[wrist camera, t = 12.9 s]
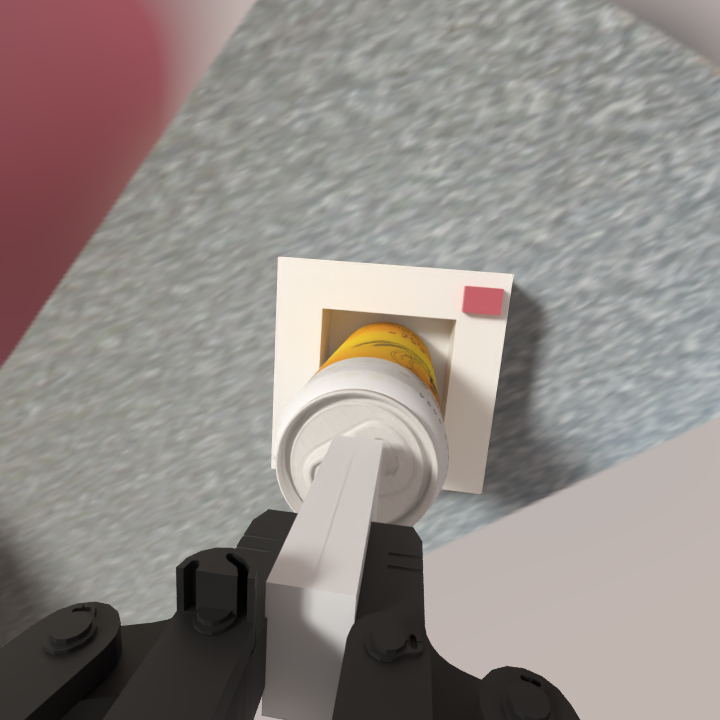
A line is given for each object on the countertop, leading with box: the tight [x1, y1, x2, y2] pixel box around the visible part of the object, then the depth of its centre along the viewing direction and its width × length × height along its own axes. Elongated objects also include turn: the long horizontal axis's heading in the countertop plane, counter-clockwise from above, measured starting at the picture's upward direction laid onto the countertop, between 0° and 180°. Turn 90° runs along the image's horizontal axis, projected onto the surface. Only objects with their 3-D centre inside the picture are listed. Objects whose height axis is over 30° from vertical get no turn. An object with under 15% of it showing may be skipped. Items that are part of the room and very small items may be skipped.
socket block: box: [271, 257, 513, 494], centre depth 27 cm, size 13×13×4 cm
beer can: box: [274, 322, 449, 527], centre depth 22 cm, size 6×6×15 cm
